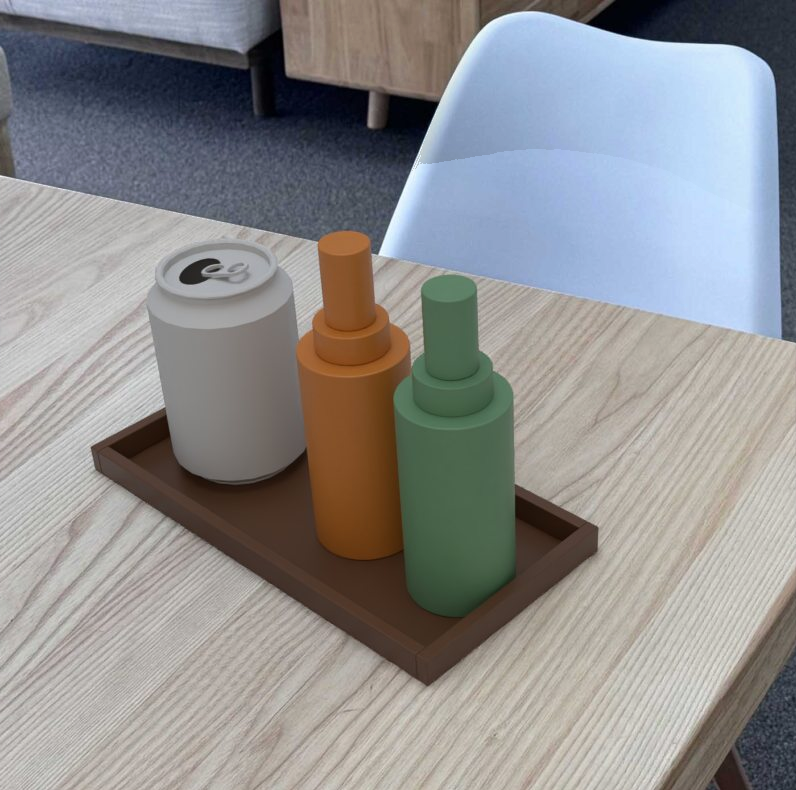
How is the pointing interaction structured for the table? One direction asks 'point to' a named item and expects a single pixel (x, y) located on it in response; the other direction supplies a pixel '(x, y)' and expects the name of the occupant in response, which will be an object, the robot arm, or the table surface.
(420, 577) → the green bottle
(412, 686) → the table surface
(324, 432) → the amber bottle
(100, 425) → the table surface
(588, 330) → the table surface
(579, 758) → the table surface
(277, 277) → the can
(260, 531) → the tray
